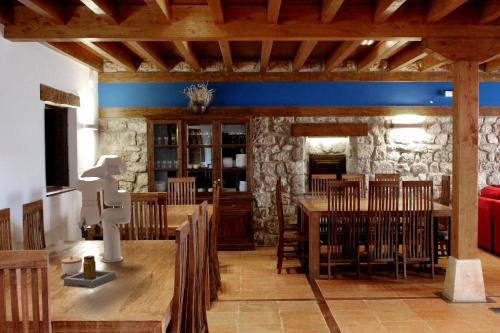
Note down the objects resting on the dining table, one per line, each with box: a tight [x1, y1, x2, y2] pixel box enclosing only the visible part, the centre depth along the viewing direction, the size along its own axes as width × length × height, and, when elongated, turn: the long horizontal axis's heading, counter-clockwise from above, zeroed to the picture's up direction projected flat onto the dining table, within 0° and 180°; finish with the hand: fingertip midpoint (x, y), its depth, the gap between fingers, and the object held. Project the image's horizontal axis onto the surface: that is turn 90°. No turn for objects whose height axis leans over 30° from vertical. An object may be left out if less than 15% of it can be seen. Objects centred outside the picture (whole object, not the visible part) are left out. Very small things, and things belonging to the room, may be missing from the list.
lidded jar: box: [60, 256, 83, 276], centre depth 259 cm, size 11×11×9 cm
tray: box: [63, 269, 117, 288], centre depth 243 cm, size 18×18×3 cm
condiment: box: [82, 255, 98, 280], centre depth 244 cm, size 7×8×12 cm
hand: (91, 236), depth 245 cm, fingers open, 9 cm apart
